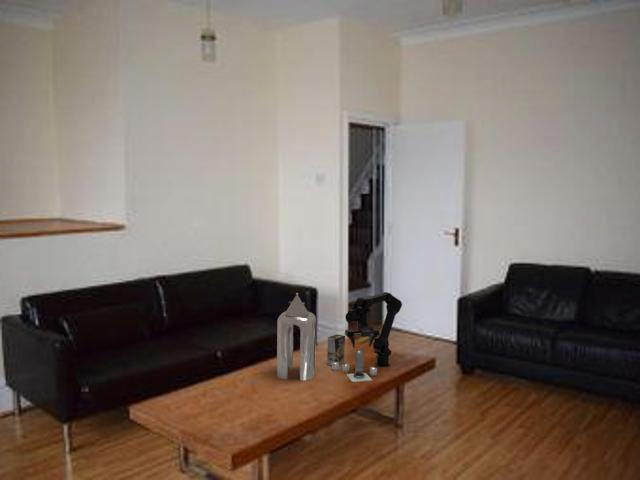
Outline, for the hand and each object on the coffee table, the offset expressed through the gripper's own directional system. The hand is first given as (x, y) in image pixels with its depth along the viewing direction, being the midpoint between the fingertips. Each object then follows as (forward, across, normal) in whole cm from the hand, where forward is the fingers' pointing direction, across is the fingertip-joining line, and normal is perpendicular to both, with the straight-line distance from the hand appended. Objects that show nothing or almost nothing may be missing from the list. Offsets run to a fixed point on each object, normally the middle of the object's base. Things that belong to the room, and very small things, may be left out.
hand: (361, 347), depth 322 cm
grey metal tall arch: (+13, -37, +1) cm, 39 cm away
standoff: (+12, -5, -12) cm, 18 cm away
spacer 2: (+13, -9, 0) cm, 16 cm away
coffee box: (+13, -11, +14) cm, 22 cm away
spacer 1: (+13, -14, +4) cm, 20 cm away
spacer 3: (+13, +4, -9) cm, 16 cm away
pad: (+13, -5, -12) cm, 18 cm away
